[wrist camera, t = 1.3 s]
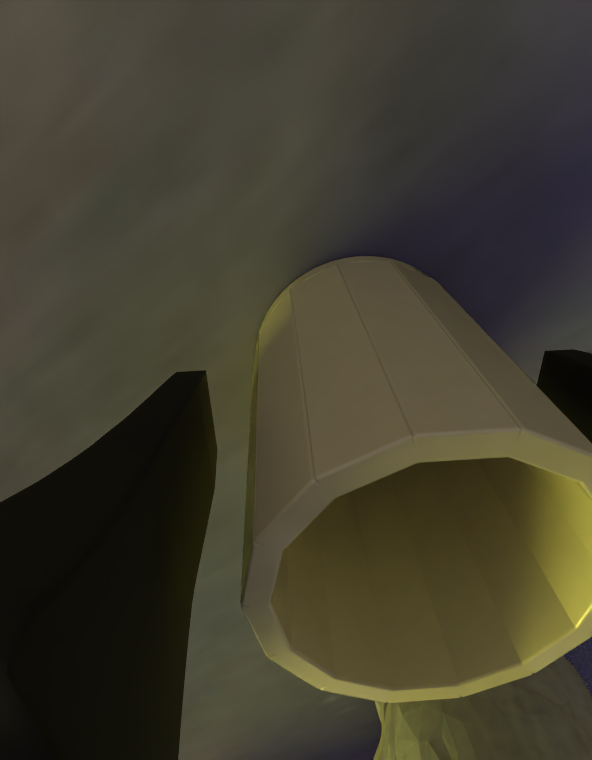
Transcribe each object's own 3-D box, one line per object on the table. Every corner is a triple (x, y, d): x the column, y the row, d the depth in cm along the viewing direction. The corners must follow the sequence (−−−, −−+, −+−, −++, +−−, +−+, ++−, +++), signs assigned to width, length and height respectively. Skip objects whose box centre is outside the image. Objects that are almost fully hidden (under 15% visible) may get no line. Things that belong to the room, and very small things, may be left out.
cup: (449, 433, 14) (589, 689, 8) (261, 444, 14) (255, 715, 8) (474, 249, 11) (713, 417, 5) (244, 261, 11) (217, 446, 5)
